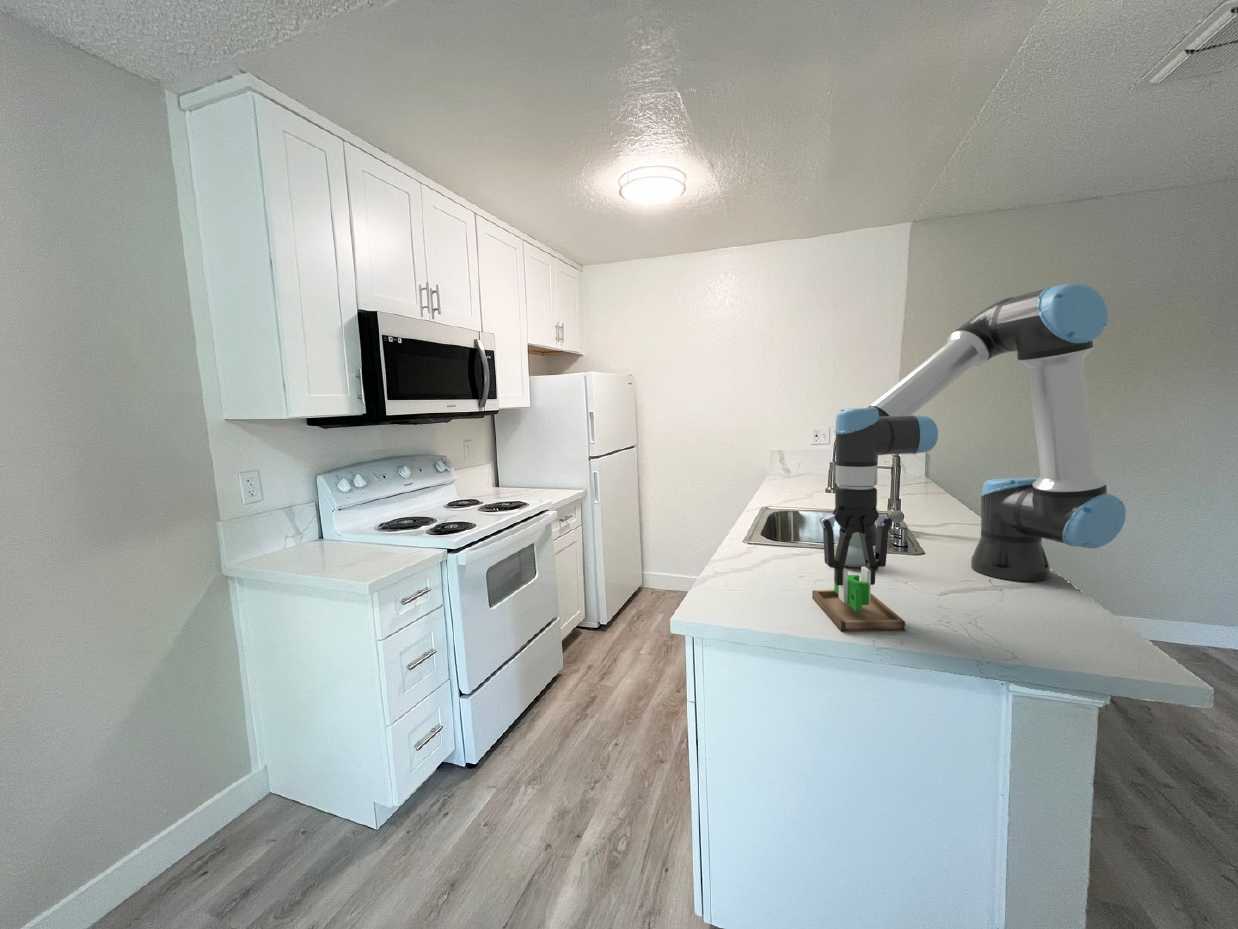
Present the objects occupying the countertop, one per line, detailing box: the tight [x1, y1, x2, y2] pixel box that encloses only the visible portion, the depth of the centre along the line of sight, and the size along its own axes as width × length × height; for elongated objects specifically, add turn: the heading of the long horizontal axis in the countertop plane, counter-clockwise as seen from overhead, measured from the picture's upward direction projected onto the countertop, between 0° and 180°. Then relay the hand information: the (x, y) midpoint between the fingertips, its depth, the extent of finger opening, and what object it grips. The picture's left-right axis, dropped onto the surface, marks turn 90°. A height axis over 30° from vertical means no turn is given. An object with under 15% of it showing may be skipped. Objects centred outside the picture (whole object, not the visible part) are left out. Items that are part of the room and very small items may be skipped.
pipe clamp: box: [833, 574, 869, 611], centre depth 101 cm, size 11×4×5 cm, turn 176°
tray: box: [811, 589, 906, 632], centre depth 101 cm, size 12×17×2 cm
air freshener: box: [834, 532, 866, 568], centre depth 131 cm, size 11×8×10 cm
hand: (854, 599), depth 101 cm, fingers closed on pipe clamp, 4 cm apart
